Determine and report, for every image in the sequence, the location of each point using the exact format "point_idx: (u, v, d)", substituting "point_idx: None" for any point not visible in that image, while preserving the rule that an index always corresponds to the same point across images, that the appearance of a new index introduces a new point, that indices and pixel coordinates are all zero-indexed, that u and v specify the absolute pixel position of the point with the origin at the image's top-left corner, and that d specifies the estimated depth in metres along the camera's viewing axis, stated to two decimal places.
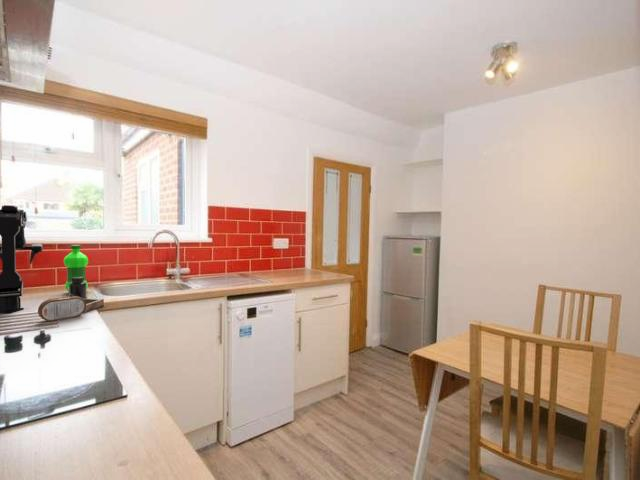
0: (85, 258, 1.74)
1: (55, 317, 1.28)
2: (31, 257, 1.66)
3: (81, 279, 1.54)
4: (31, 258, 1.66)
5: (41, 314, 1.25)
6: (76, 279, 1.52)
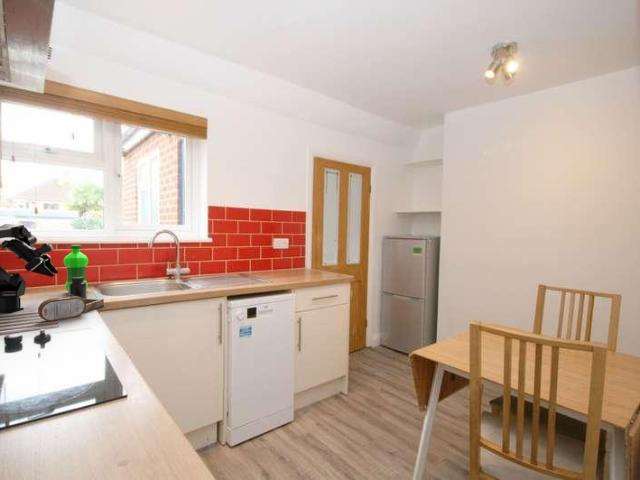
0: (85, 258, 1.74)
1: (55, 317, 1.28)
2: (40, 273, 1.44)
3: (81, 279, 1.54)
4: (42, 274, 1.44)
5: (41, 314, 1.25)
6: (76, 279, 1.52)
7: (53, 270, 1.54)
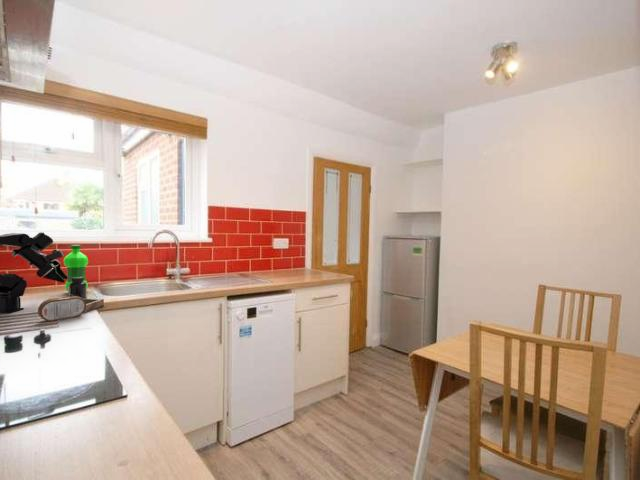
0: (85, 258, 1.74)
1: (55, 317, 1.28)
2: None
3: (81, 279, 1.54)
4: (53, 279, 1.46)
5: (41, 314, 1.25)
6: (76, 279, 1.52)
7: (63, 276, 1.56)
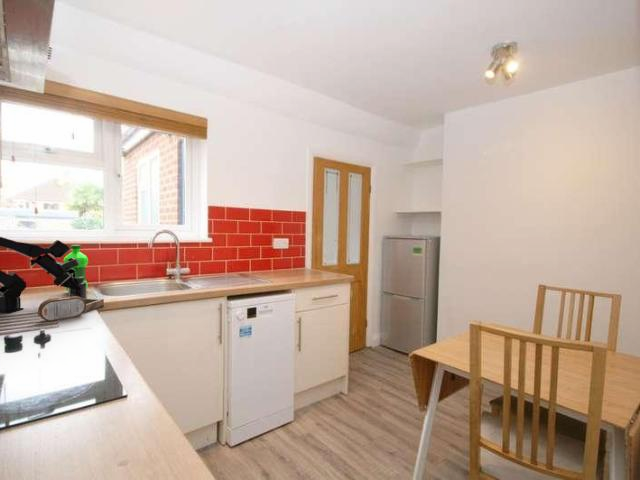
0: (85, 258, 1.74)
1: (55, 317, 1.28)
2: None
3: (81, 279, 1.54)
4: None
5: (41, 314, 1.25)
6: (76, 279, 1.52)
7: None
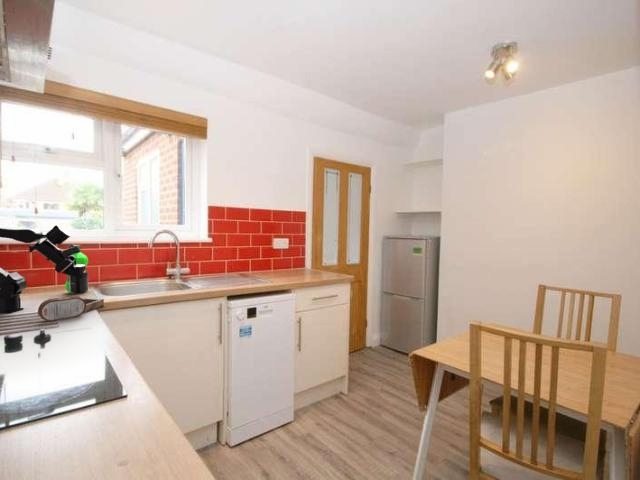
0: (85, 258, 1.74)
1: (55, 317, 1.28)
2: (69, 274, 1.43)
3: (82, 268, 1.47)
4: (71, 275, 1.44)
5: (41, 314, 1.25)
6: (77, 268, 1.46)
7: None
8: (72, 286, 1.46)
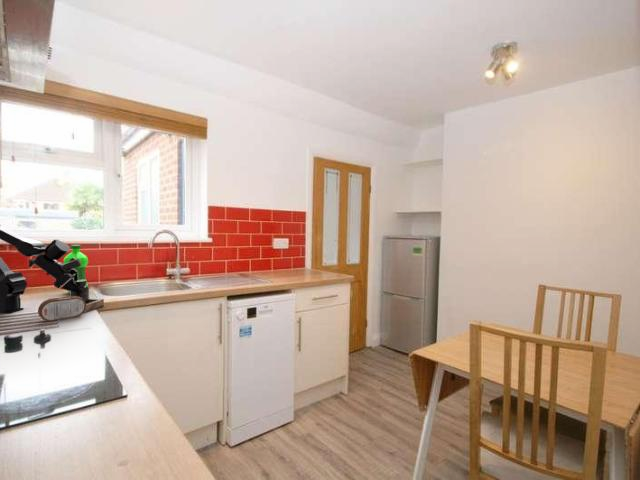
0: (85, 258, 1.74)
1: (55, 317, 1.28)
2: None
3: (83, 282, 1.44)
4: None
5: (41, 314, 1.25)
6: (78, 282, 1.42)
7: None
8: None
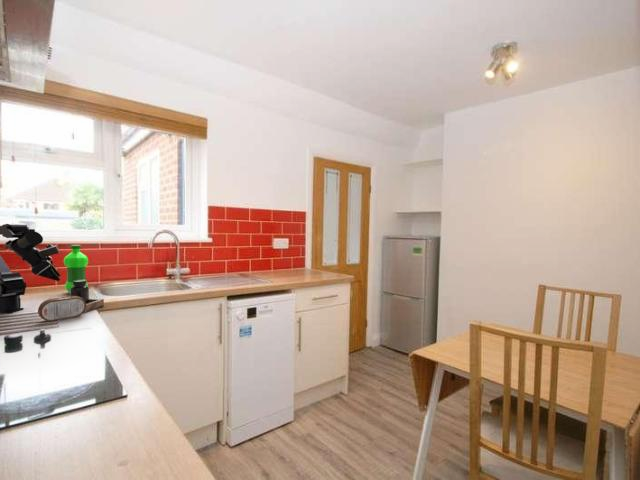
0: (85, 258, 1.74)
1: (55, 317, 1.28)
2: None
3: (83, 282, 1.44)
4: (47, 277, 1.36)
5: (41, 314, 1.25)
6: (78, 282, 1.43)
7: (55, 273, 1.45)
8: None
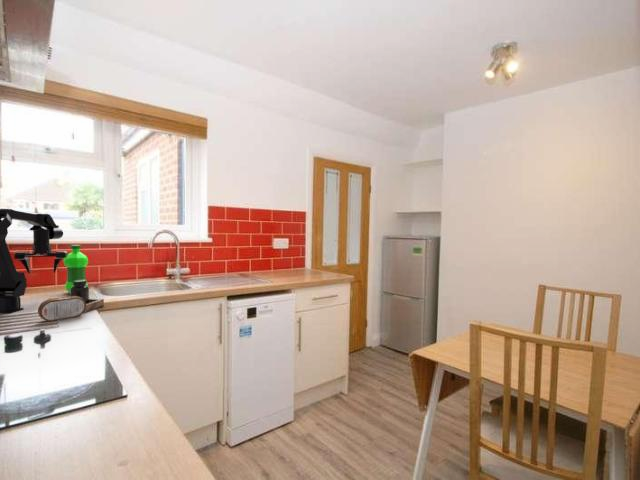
0: (85, 258, 1.74)
1: (55, 317, 1.28)
2: (55, 264, 1.57)
3: (83, 282, 1.44)
4: (55, 265, 1.57)
5: (41, 314, 1.25)
6: (78, 282, 1.43)
7: (29, 269, 1.54)
8: None
